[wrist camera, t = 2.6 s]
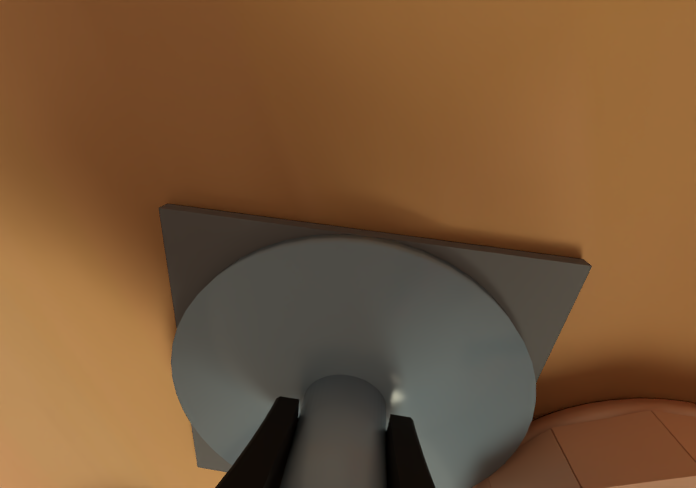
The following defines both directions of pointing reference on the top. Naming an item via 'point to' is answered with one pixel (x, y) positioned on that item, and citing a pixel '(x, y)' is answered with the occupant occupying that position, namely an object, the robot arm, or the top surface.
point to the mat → (477, 261)
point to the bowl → (606, 448)
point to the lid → (355, 361)
